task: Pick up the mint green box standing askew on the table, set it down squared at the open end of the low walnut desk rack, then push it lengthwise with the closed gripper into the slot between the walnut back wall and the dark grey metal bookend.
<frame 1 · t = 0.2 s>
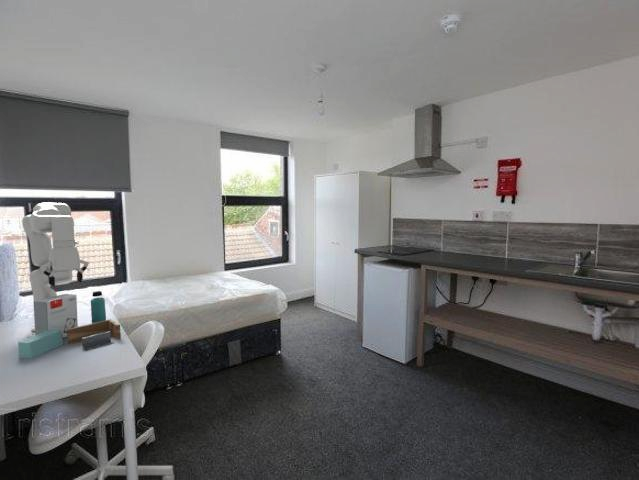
hand: (66, 283, 141), 30 cm above the table, tool pointing down, fingers open, 9 cm apart
walnut rack: (94, 340, 154), on the table
grey bookend: (97, 344, 151), on the table
beverage bottle: (99, 329, 170), on the table
mint green box: (41, 350, 143), on the table
hard drive box: (57, 337, 158), on the table
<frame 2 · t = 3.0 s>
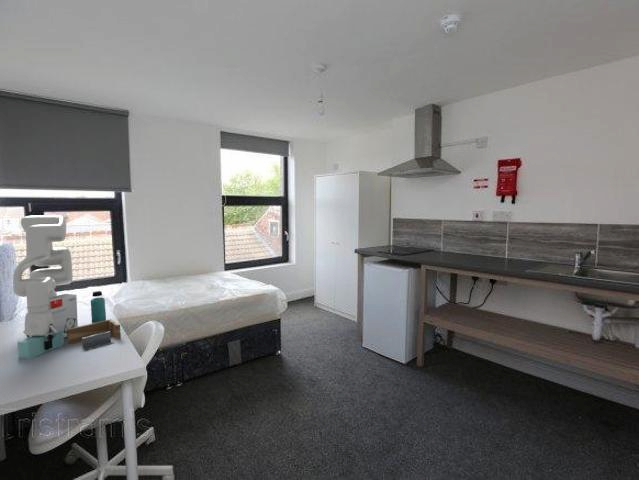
hand: (41, 348, 143), 1 cm above the table, tool pointing down, fingers closed on mint green box, 5 cm apart
mint green box: (42, 350, 143), on the table, touching gripper
everything else where it was.
when the fingers open (2 cm above the table, at t = 7.3 s): mint green box drops 1 cm, on the table.
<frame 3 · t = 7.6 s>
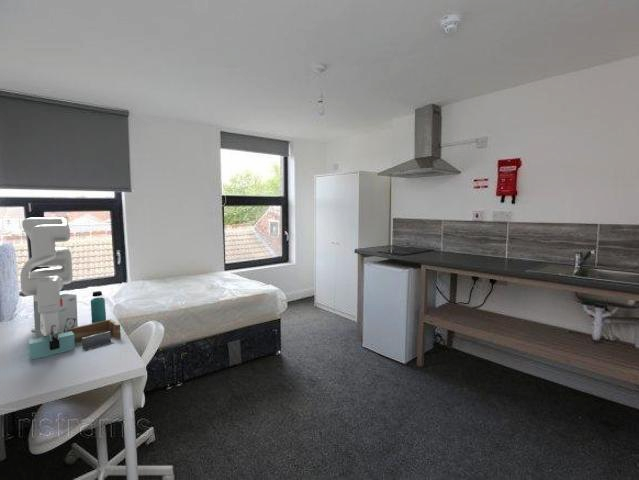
hand: (52, 346, 141), 3 cm above the table, tool pointing down, fingers open, 9 cm apart
mint green box: (52, 352, 142), on the table
everything else where it was.
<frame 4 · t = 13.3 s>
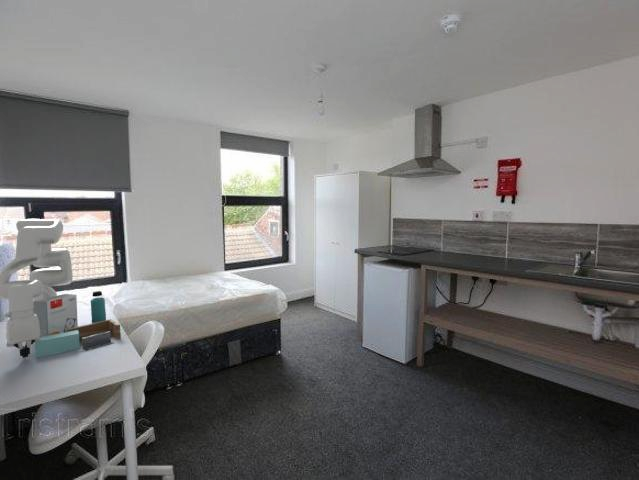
hand: (25, 356, 134), 1 cm above the table, tool pointing down, fingers closed
mint green box: (58, 350, 143), on the table, touching gripper
everything else where it was.
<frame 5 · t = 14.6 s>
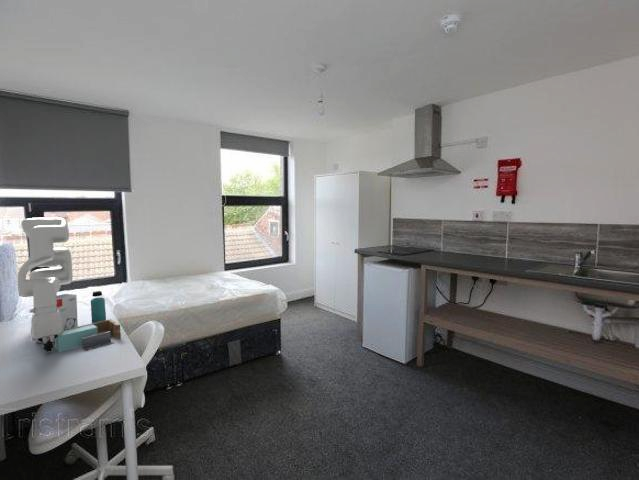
hand: (48, 350, 140), 1 cm above the table, tool pointing down, fingers closed
mint green box: (77, 344, 150), on the table, touching gripper
everything else where it was.
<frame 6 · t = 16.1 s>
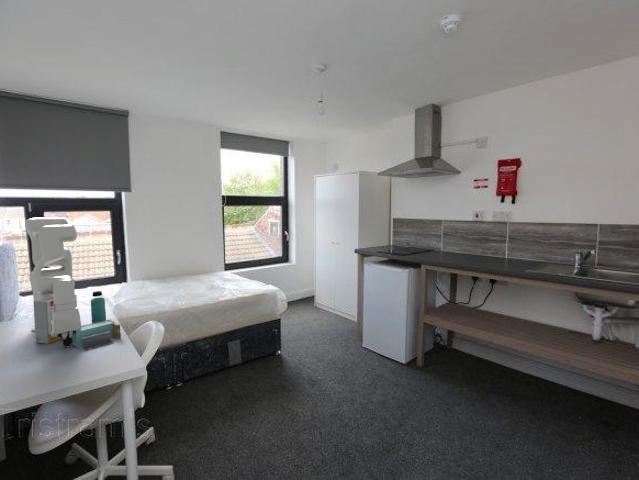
hand: (67, 346, 146), 1 cm above the table, tool pointing down, fingers closed
mint green box: (93, 340, 155), on the table, touching gripper, walnut rack
everything else where it was.
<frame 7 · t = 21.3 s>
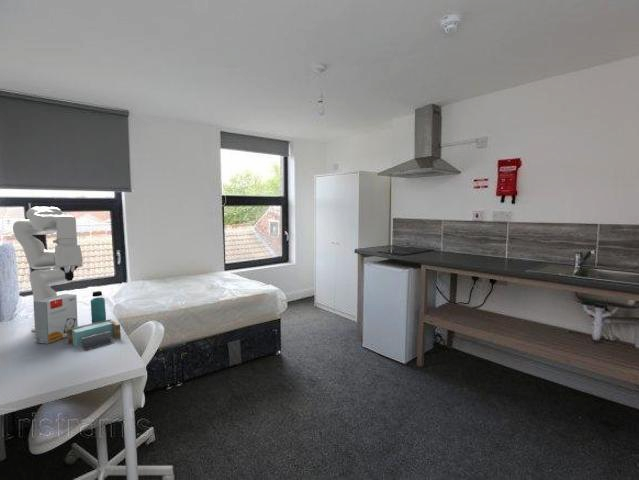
hand: (69, 280, 153), 29 cm above the table, tool pointing down, fingers closed
mint green box: (93, 340, 155), on the table
everything else where it was.
at the end: mint green box 1.9 cm from the target spot, on the table; mint green box tilted 0° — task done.
